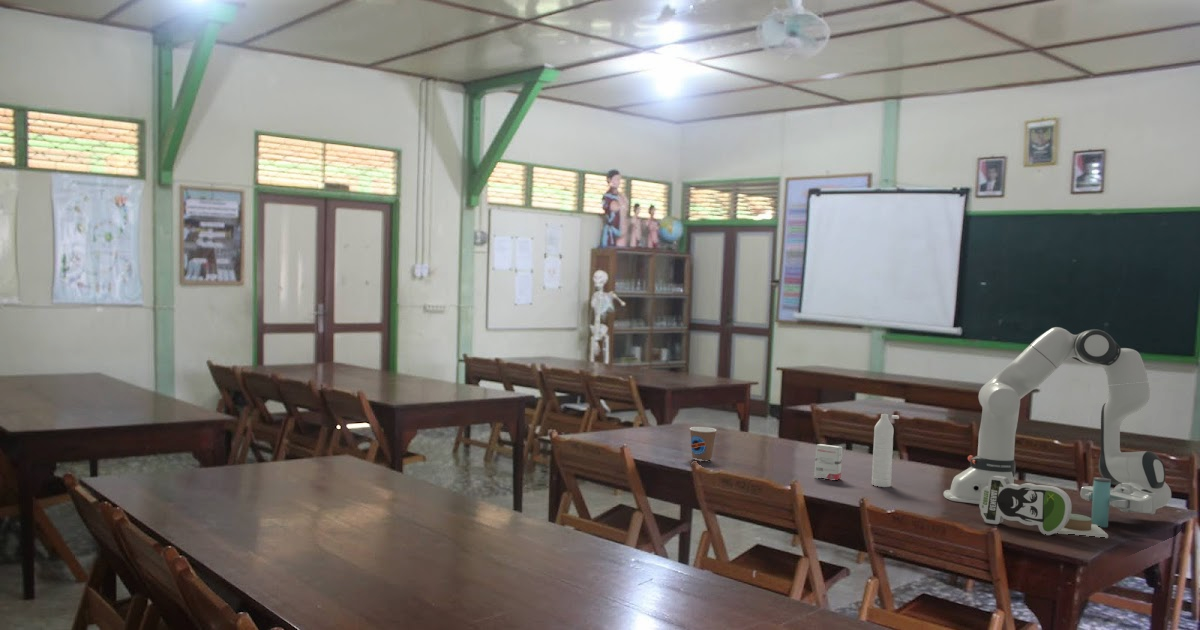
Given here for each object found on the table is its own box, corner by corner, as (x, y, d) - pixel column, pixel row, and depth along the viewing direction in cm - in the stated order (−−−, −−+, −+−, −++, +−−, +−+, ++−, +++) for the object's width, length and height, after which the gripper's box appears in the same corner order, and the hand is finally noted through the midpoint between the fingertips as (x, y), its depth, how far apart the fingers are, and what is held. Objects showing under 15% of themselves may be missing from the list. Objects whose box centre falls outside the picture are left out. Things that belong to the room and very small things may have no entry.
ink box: (841, 479, 336) (843, 446, 335) (837, 481, 331) (838, 447, 331) (818, 475, 340) (819, 443, 340) (813, 478, 336) (814, 444, 336)
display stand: (1054, 533, 270) (1055, 519, 270) (1044, 523, 282) (1045, 509, 281) (1107, 538, 267) (1108, 524, 266) (1096, 527, 278) (1096, 514, 278)
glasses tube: (1093, 526, 280) (1096, 479, 280) (1089, 522, 284) (1091, 476, 284) (1110, 528, 279) (1113, 481, 278) (1105, 524, 283) (1108, 478, 283)
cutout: (978, 475, 281) (1067, 483, 264) (982, 474, 283) (1071, 482, 266) (979, 526, 281) (1069, 537, 264) (983, 524, 283) (1072, 536, 266)
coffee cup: (683, 459, 362) (684, 428, 361) (698, 456, 369) (699, 426, 369) (705, 463, 355) (706, 432, 355) (720, 460, 363) (721, 429, 362)
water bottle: (867, 484, 328) (871, 413, 327) (878, 482, 332) (882, 412, 331) (889, 489, 321) (893, 416, 320) (900, 487, 325) (904, 415, 324)
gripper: (1097, 480, 296) (1068, 482, 290) (1161, 494, 278) (1131, 497, 272) (1096, 500, 297) (1067, 503, 291) (1160, 515, 278) (1130, 519, 272)
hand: (1098, 500), depth 281 cm, fingers open, 7 cm apart
